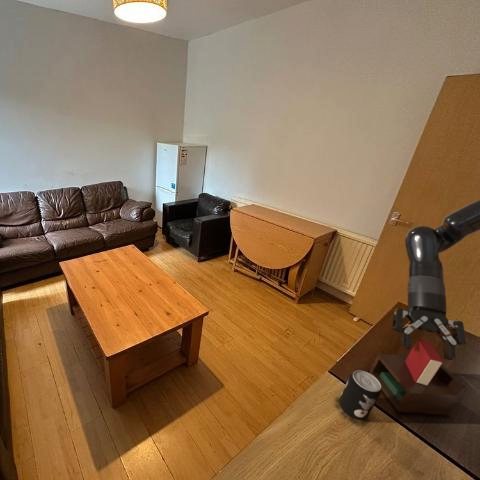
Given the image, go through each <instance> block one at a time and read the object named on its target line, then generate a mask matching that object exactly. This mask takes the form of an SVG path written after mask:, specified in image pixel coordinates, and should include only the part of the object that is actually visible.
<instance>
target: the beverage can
mask: <svg viewBox="0 0 480 480" xmlns="http://www.w3.org/2000/svg"><path fill="white" fill-rule="evenodd" d="M381 394H382V389H381V384H380V382H379V381H378V380H377V379H376V378H375V377H374V376H373V375H371V374H370V373H369V372H368V371H364V370H361V369H360V370H359V369H358V370H355V371H354V372H352V373H351V374H349V377H348V379H347V381H346V383H345V385H344V387H343V388H342V392H341V393H340V396H339V398H338V405H339V406H340V408H341V410H342V411H343V412H344V414H346V415H347V416H348V417H350V418H351V419H354V420H357V421H364V420H365V421H366V420H367V419H368V417H369V416H370V414H371V412H372V410H373V409H374V407H375V405H376V403H377V401H378V400H379V398H380V396H381Z"/></svg>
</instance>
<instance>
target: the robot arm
mask: <svg viewBox="0 0 480 480" xmlns="http://www.w3.org/2000/svg"><path fill="white" fill-rule="evenodd" d="M479 231H480V199H478V200H475V201H473V202H470V203H468V204H466V205H464V206H463V207H460V208H459V209H457V210H454V211H453V212H451V213H449V214H448V215H446V216H444V217H443V219H442V223H441V225H439V226H438V227H436V228H433V227H430V226H426V225H419V226H414V227H413V228H411V229H409V231H408V232H407V233H406V235H405V241H404V243H405V250H406V255H407V260H408V281H407V288H406V292H407V310H404V309H402V308H394V309H393V311H392V320H391V329H392V330H393V331H396V332H398V333H399V334H400V336H399V337H400V338H399V339H400V342H399V343H400V346H401V347H402V348H403V349H405V350H411V347H412V346H411V337H412V336H411V333H412V332H413V331H415V330H419V331H426V332H428V333H434V335H436V337H439V339H441V341H442V342H443V344H442V347H443V349H442V350H443V351H442V352H443V359H444V360H448V361H454V359H455V358H456V357H457V356H456V346H461V345H462V346H463V345H466V343H467V341H466V334H465V333H466V332H465V328H464V327H465V325H464V322H463V321H462V320H450V319H448V317H447V312H448V311H447V291H446V290H447V288H446V284H445V273H444V270H445V269H444V264H443V262H442V261H441V258H440V255H439V254H442V253H443V252H445V251H447V250H449V249H450V248H452V247H454V246H455V245H456V244H458V243H459V242H461V241H462V240H464V239H465V238H466V237H468V236H470V235H472V234H474V233H476V232H479ZM405 317H406V318H407V319H408V323H406V324H405V325H404V326H403V318H405ZM447 325H448V327H449V329H450V330H451V331H449V330H448V329H447V327H446V326H447Z"/></svg>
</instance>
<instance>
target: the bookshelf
mask: <svg viewBox="0 0 480 480" xmlns="http://www.w3.org/2000/svg"><path fill="white" fill-rule="evenodd" d="M407 357H408V354H407V355H406V354H405V355H404V354H381V353H378V354H377V355H376V357H375V359H374V361H373V363H372V365H371V367H370V368H369V371H368V373H370V374H371V375H373V376H374V377H375V378H376V379H377V380H378V381H379V382H380V384H381V391H382V392H383V394H384V395H385V396H386V397H387V398H388V400H389V401H390V402H391V404H392V405H393V407H394V408H395V409H396V410H397V412H398V413H412V414H427V415H428V414H429V415H443V416H444V415H445V416H446V415H447V414H448V413H449V412H450V411H451V409H452V408H453V406H455V404H456V403H457V402H458V400H459V399H460V397H462V395H463V394H464V392H465V391H466V390H467V386H466V385H464V384H463V383H462V382H461V381H460V380H459V379H458V378H457V377H456V376H455V375H453V374H452V372H450V371H449V369H448V368H446V367H445V366H444V365H443V364H442V365H441V367H440V368H439V370H438V371H437V373H436V374H435V376H434V377H433V379H432V380H431V381H430V383H429V384H428V386H427V385H424V384H420V383H417V382H415V381H414V379H413V377H412V375H411V373H410V371H409V369H408V367H407V364H406V362H405V361H406V359H407Z"/></svg>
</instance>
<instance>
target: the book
mask: <svg viewBox="0 0 480 480" xmlns="http://www.w3.org/2000/svg"><path fill="white" fill-rule="evenodd" d="M407 356H408V357H407V359H406V361H405V362H406V364H407V367H408V369H409V371H410V373H411V375H412V377H413V379H414V381H415V382H417V383H420V384H424V385H427V386H428V384H429V383H430V381H431V380H432V379H433V377H434V376H435V374H436V373H437V371H438V370H439V368H440V367H441V365H443V364H444V360H443V359H442V357H441V356H440V354H439V353H438V352H437V350H436V348H435V347H434V345H433V343H432V341H429V340H425V339H421V338H417V339H416V342H415V343H414V344H413V347H412V349H410V352H409V354H407Z"/></svg>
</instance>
